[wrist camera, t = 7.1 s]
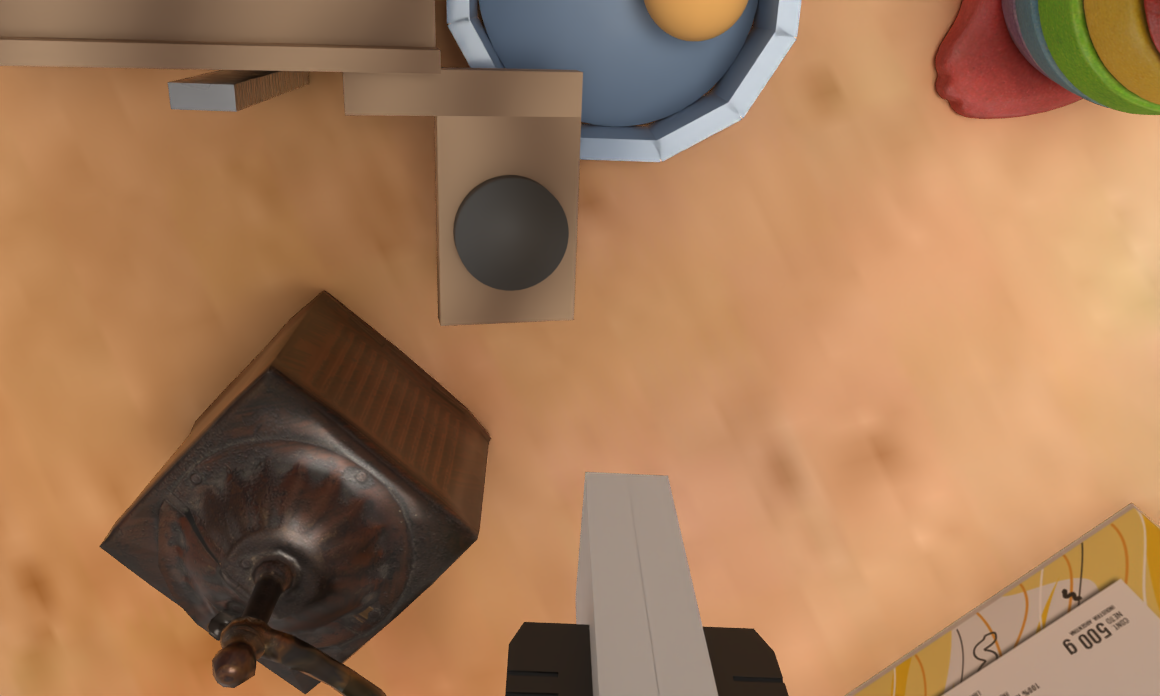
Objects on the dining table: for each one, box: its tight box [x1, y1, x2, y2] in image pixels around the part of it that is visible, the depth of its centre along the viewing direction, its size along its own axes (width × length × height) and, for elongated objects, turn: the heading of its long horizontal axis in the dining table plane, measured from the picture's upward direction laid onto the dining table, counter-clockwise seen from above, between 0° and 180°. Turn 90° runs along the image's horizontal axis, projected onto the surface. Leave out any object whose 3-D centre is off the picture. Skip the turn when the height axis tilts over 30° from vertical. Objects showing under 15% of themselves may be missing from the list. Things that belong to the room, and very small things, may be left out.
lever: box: [0, 0, 583, 326], centre depth 29 cm, size 22×15×4 cm
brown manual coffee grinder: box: [99, 291, 491, 696], centre depth 35 cm, size 16×11×18 cm
